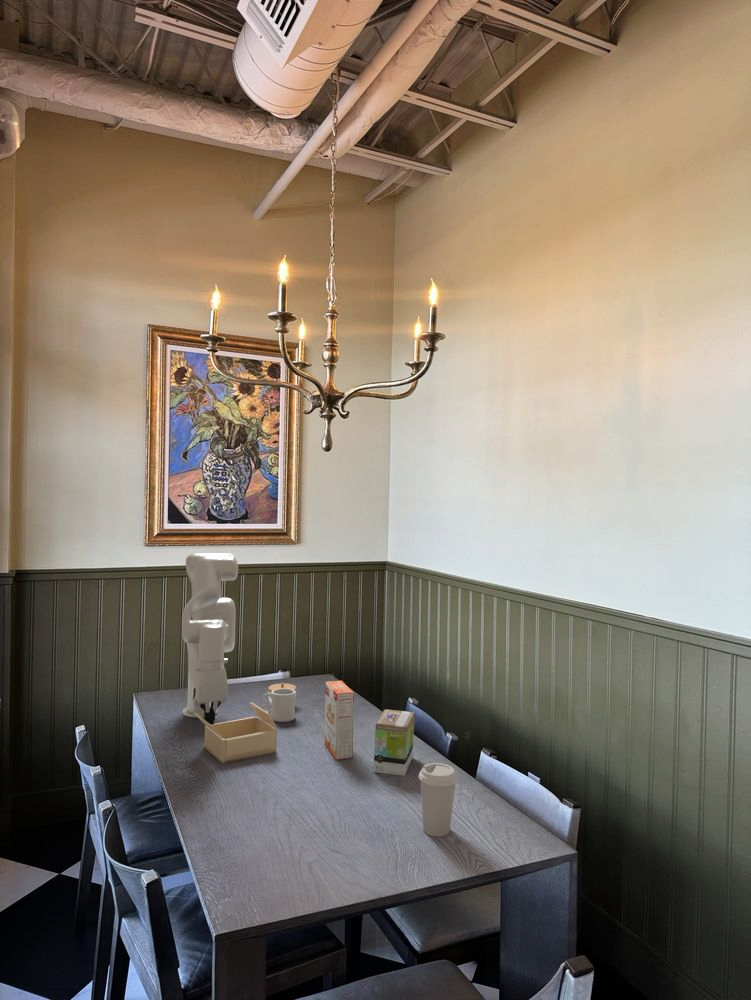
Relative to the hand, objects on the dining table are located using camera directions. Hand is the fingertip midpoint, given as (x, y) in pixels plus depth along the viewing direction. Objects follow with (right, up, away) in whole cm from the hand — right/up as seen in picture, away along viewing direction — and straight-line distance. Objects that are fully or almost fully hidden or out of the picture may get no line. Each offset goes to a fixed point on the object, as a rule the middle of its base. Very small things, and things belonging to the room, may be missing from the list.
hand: (209, 723), depth 207 cm
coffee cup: (+66, -12, -42) cm, 80 cm away
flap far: (+15, -1, +11) cm, 18 cm away
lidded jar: (+15, -11, +50) cm, 54 cm away
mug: (+16, -11, +37) cm, 42 cm away
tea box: (+57, -12, -2) cm, 58 cm away
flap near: (0, 0, 0) cm, 0 cm away
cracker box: (+39, -12, +7) cm, 42 cm away
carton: (+8, -10, +6) cm, 15 cm away
